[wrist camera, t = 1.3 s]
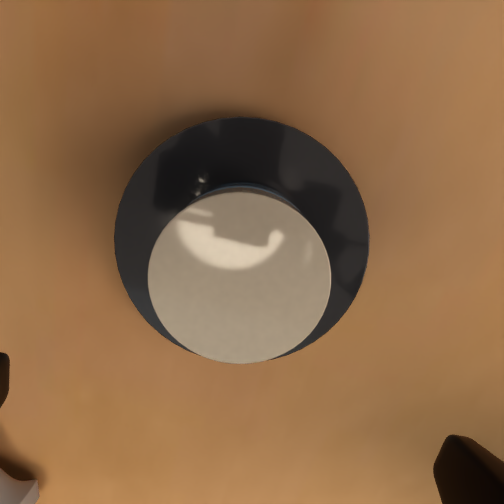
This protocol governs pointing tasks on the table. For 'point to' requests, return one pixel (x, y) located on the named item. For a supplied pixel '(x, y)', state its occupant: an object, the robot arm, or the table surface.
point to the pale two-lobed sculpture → (17, 490)
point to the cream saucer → (239, 276)
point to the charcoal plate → (252, 171)
